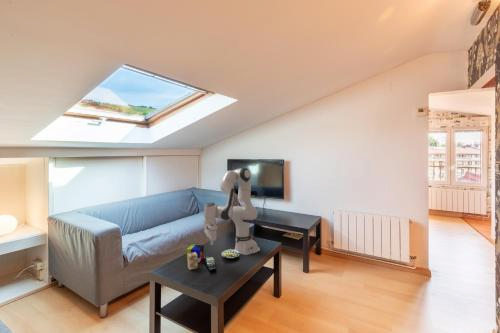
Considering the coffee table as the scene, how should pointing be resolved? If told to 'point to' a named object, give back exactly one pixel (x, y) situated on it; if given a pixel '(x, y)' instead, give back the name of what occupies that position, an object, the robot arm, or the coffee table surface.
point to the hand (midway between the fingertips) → (210, 242)
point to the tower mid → (192, 257)
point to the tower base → (192, 265)
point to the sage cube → (210, 260)
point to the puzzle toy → (198, 249)
